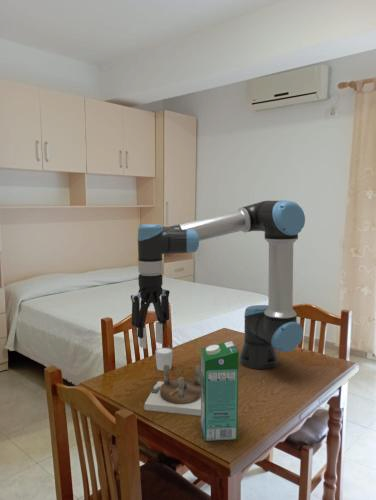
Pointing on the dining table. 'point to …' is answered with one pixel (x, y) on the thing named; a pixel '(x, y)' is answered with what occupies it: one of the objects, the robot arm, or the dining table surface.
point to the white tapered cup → (163, 358)
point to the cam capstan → (181, 388)
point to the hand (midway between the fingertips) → (151, 344)
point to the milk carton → (219, 391)
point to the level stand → (170, 404)
